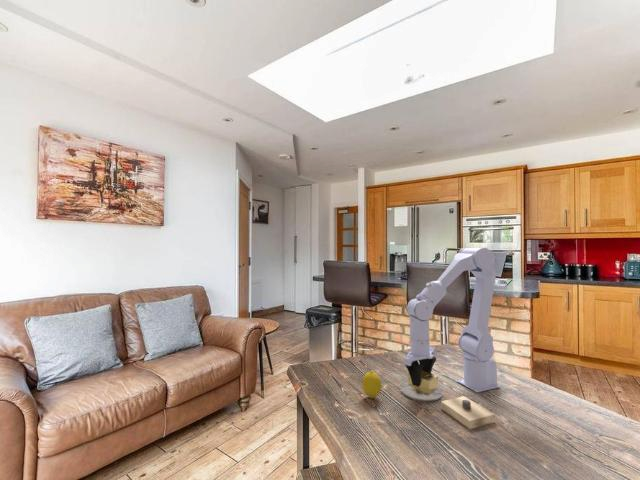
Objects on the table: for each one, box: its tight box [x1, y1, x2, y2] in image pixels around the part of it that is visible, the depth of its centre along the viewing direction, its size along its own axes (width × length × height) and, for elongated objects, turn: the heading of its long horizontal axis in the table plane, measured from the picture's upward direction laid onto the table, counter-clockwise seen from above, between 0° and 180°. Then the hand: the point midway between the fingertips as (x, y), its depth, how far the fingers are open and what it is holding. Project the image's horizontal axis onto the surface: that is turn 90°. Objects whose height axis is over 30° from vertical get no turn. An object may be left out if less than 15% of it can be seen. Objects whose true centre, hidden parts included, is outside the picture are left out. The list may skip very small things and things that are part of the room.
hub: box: [400, 380, 443, 403], centre depth 94 cm, size 12×12×4 cm
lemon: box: [362, 370, 382, 399], centre depth 90 cm, size 6×6×8 cm
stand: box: [440, 395, 495, 430], centre depth 80 cm, size 8×10×4 cm
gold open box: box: [407, 370, 439, 394], centre depth 93 cm, size 5×7×4 cm
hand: (420, 382), depth 94 cm, fingers closed on gold open box, 5 cm apart
